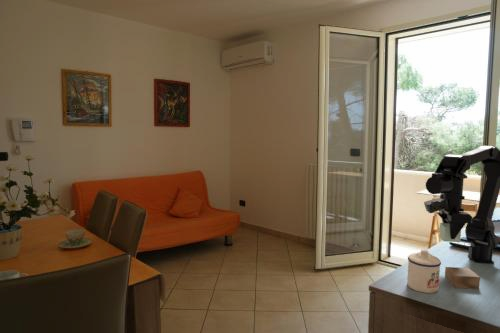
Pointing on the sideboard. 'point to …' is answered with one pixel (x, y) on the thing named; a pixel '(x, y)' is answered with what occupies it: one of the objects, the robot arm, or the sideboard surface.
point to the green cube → (447, 233)
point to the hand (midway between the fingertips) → (449, 236)
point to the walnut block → (462, 277)
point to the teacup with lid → (423, 272)
